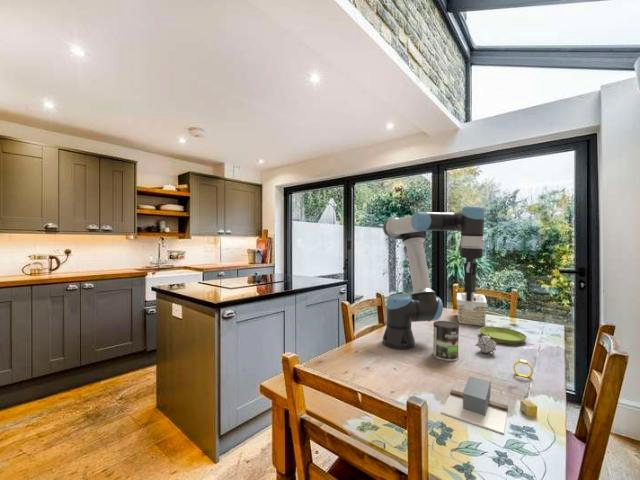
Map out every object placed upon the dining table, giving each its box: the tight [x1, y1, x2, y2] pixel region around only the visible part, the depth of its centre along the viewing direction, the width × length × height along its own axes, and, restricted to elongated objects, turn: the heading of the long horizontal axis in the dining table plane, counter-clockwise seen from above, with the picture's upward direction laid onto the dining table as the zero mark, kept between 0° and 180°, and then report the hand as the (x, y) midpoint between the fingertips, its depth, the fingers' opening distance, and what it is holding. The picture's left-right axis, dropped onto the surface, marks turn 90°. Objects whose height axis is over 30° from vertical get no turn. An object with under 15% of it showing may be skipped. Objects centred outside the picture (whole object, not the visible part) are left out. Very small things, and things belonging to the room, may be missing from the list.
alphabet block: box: [519, 399, 538, 417], centre depth 90 cm, size 3×3×3 cm
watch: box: [512, 359, 534, 378], centre depth 113 cm, size 6×3×6 cm, turn 59°
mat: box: [440, 394, 508, 435], centre depth 89 cm, size 16×12×1 cm
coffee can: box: [432, 320, 460, 362], centre depth 131 cm, size 10×10×14 cm
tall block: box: [462, 374, 492, 416], centre depth 93 cm, size 6×5×11 cm
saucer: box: [478, 326, 528, 345], centre depth 154 cm, size 21×21×3 cm
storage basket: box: [456, 292, 488, 327], centre depth 187 cm, size 24×16×15 cm
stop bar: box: [449, 389, 509, 413], centre depth 95 cm, size 16×2×1 cm, turn 54°
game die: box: [474, 334, 499, 355], centre depth 135 cm, size 9×8×10 cm
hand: (468, 308), depth 115 cm, fingers closed
